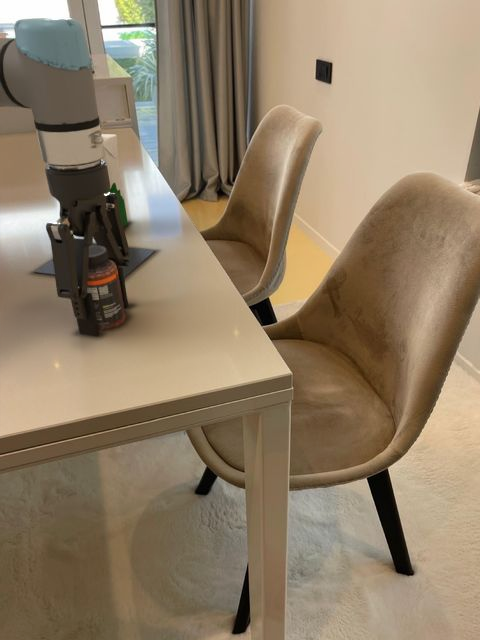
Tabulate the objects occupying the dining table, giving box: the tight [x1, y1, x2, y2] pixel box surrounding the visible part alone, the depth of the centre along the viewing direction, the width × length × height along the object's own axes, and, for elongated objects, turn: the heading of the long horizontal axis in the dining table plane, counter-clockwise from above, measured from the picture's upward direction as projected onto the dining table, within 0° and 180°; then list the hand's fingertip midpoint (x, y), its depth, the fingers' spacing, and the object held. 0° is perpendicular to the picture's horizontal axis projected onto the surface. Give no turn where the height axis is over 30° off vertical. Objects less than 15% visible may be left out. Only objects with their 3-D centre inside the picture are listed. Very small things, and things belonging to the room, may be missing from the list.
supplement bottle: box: [78, 245, 126, 331], centre depth 79 cm, size 6×6×11 cm
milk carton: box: [101, 133, 129, 228], centre depth 108 cm, size 9×9×20 cm
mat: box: [34, 242, 156, 279], centre depth 99 cm, size 16×14×1 cm
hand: (105, 320), depth 82 cm, fingers open, 8 cm apart
